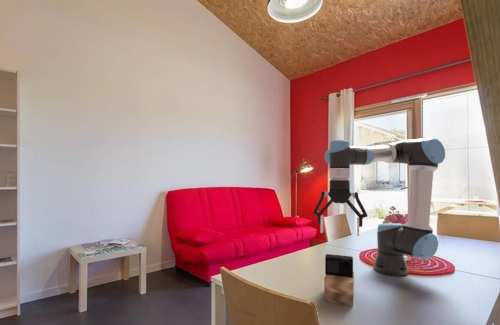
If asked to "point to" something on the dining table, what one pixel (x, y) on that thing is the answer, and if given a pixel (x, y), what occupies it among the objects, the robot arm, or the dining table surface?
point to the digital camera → (339, 265)
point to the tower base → (339, 298)
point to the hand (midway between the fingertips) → (339, 233)
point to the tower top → (339, 284)
